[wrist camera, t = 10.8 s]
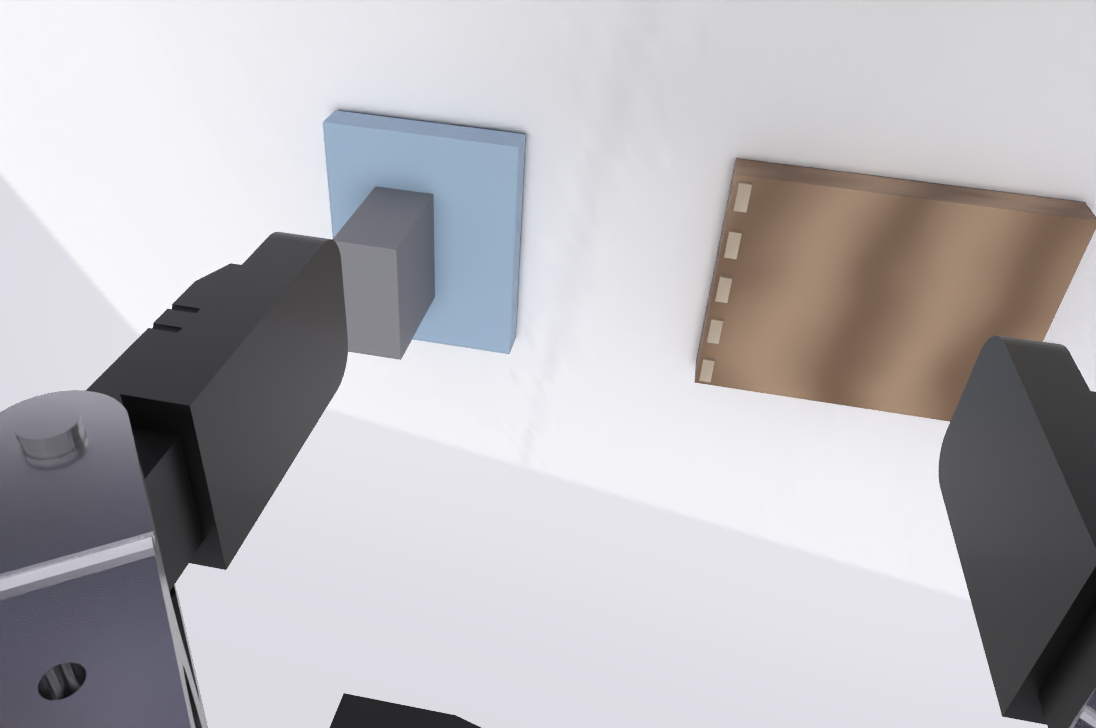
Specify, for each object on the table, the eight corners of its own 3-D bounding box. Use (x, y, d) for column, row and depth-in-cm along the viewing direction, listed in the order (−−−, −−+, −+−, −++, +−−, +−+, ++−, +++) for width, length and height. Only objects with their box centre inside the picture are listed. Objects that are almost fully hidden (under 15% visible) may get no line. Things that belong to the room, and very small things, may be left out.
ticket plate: (1084, 202, 41) (1100, 223, 39) (992, 406, 48) (1002, 431, 46) (736, 158, 43) (735, 176, 41) (696, 361, 50) (694, 384, 48)
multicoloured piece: (525, 134, 43) (490, 200, 37) (515, 337, 50) (484, 421, 44) (335, 110, 44) (270, 170, 38) (351, 312, 51) (298, 391, 45)
